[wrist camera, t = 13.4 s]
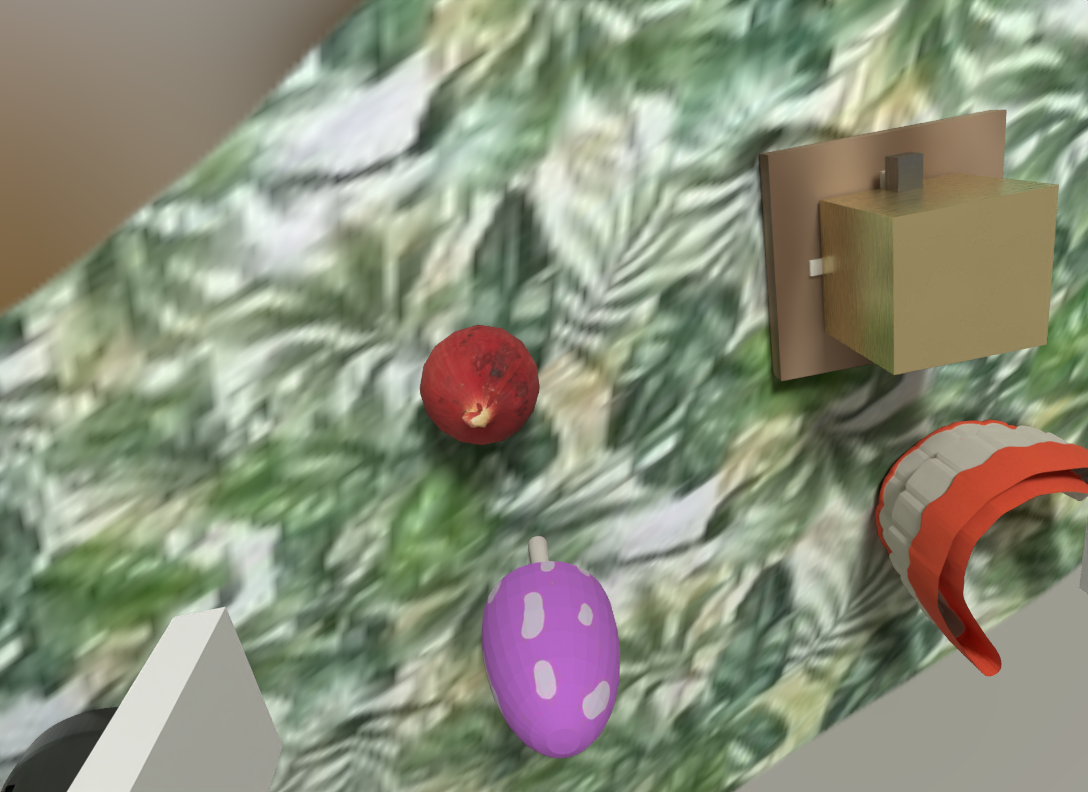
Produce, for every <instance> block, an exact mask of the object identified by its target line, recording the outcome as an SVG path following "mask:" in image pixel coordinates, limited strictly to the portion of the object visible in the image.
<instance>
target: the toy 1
mask: <svg viewBox="0 0 1088 792" xmlns="http://www.w3.org/2000/svg"><path fill="white" fill-rule="evenodd" d="M528 546H529V553H530V559H531V564H529V565H526V566H523V567H520V568H518V569H516V570H515V571H513V572H511V573H509V574H508V575H506V576H505V577H504V578H503V579H502V580H501V581H500V582H499V583H497V584H496V586H495V587H494V589H493V590H492V592H491V593H490V595H489V597H488V599H487V602H486V605H485V608H484V615H483V624H482V649H483V656H484V662H485V668H486V673H487V677H488V681H489V684H490V688H491V691H492V694H493V697H494V700H495V702H496V704H497V705H498V707H499V709H500V711H501V713H502V715H503V717H504V718H505V720H506V722H507V724H508V726H509V727H510V728H511V729H512V730H513V732H514V733H515V734H516V735H517V736H518V737H519V738H520V739H521V740H522V741H523V742H524V743H525V744H526V745H527V746H528V747H530V748H532V749H533V750H535V751H537V752H539V753H541V754H543V755H546V756H549V757H553V758H567V757H571V756H574V755H577V754H579V753H581V752H582V751H584V750H585V749H586V748H587V747H588V746H590V745H591V744H592V743H593V742H594V741H595V740H596V739H597V738H598V737H599V736H600V734H601V732H602V731H603V729H604V727H605V725H606V723H607V721H608V719H609V717H610V715H611V713H612V710H613V706H614V703H615V699H616V694H617V690H618V685H619V669H620V648H619V638H618V630H617V626H616V623H615V619H614V615H613V611H612V608H611V604H610V601H609V599H608V597H607V595H606V592H605V591H604V589H603V588H602V586H601V584H600V583H599V582H598V581H597V580H596V579H595V578H594V577H593V576H592V575H591V574H590V573H589V572H587V571H585V570H583V569H581V568H580V567H578V566H575V565H571V564H568V563H565V562H554V561H549V557H548V548H547V541H546V540H545V539H544V538H543V537H541V536H536V537H533V538H531V539H530V541H529V544H528Z"/></svg>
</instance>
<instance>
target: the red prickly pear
mask: <svg viewBox="0 0 1088 792" xmlns="http://www.w3.org/2000/svg"><path fill="white" fill-rule="evenodd" d="M420 394H421V397H422V400H423V403H424V406H425V409H426V412H427V415H428V416H429V417H430V418H431V419H432V420H433V422H434V423H435V424H436V425H437V426H438V428H439V429H440V430H441V431H443V432H445V433H446V434H448V435H450V436H452V437H453V438H455V439H457V440H459V441H460V442H466V443H472V444H478V445H484V444H489V443H494V442H499V441H503V440H505V439H506V438H508V437H509V436H511V435H513V434H514V433H516V432H517V431H519V430H520V429H521V427H522V426H523V425H524V423H525V422H526V421H527V419H528V418H529V417H530V415H531V414H532V412H533V411H534V407H535V404H536V400H537V397H538V394H539V379H538V372H537V365H536V364H535V362H534V360H533V359H532V357H531V355H530V354H529V352H528V350H527V349H526V347H525V345H524V344H523V342H522V341H520V340H519V339H517V338H516V337H514V336H513V335H511V334H510V333H508V332H507V331H505V330H504V329H502V328H497V327H490V326H483V325H476V326H472V327H469V328H466V329H462V330H459V331H456V332H454V333H452V334H451V335H450V336H448V337H447V338H446V339H444V340H443V341H442V342H440V343H439V344H438V345H436V346H435V347H434V349H433V351H432V352H431V354H430V356H429V357H428V359H427V361H426V363H425V364H424V367H423V372H422V378H421V384H420Z"/></svg>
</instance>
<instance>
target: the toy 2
mask: <svg viewBox="0 0 1088 792" xmlns="http://www.w3.org/2000/svg"><path fill="white" fill-rule="evenodd" d="M1057 492H1062V493H1064V494H1066V495H1068V496H1070V497H1072V498H1074V499H1076V500H1078V501H1082V500H1084V499H1085V498H1086V497H1087V496H1088V450H1086V449H1085V448H1083V447H1081V446H1077V445H1074V444H1069V443H1067V442H1066V441H1064V440H1062V439H1060V438H1059V437H1057V436H1055V435H1054V434H1052V433H1050V432H1047V433H1044V432H1042V431H1041V430H1039V429H1037V428H1034V427H1029V426H1018V427H1015V426H1013V425H1008V424H1006V423H1004V422H1001V421H995V420H985V421H982V422H981V421H961V422H955V423H952V424H950V425H948V426H944V427H941V428H939V429H937V430H936V431H934V432H932V433H931V434H929V435H928V436H926V437H925V438H923V439H922V440H920V441H918V442H917V443H916V444H915V446H913V447H911V448H910V449H909V450H907V451H906V452H905V453H904V454H903V455H902V456H901V457H900V458H899V459H898V460H897V461H896V462H895V464H894V465H893V466H892V467H891V469H890V471H889V473H888V474H887V475H886V477H885V478H884V481H883V484H882V487H881V490H880V495H879V504H878V506H877V507H876V512H875V522H876V525H877V527H878V530H877V533H878V536H879V538H880V540H881V542H882V544H883V545H884V546H885V547H886V548H887V549H888V553H889V554H890V555H889V558H890V561H891V563H892V565H893V567H894V568H895V570H896V571H897V572H898V573H899V574H900V575H901V577H900V578H901V580H902V582H903V584H904V586H905V587H906V589H907V590H908V592H909V593H910V594H911V596H912V597H913V598H914V599H916V600H917V601H916V603H917V604H918V606H919V607H920V609H921V610H922V611H923V613H924V614H925V615H926V616H927V617H928V618H929V619H930V620H931V621H932V622H933V623H934V624H936V625H937V626H938V627H939V629H940V630H941V631H942V632H943V634H944V635H945V636H946V637H947V638H948V640H949V641H950V642H951V643H952V644H953V645H954V646H955V647H956V648H957V649H958V650H959V651H960V652H961V653H962V654H963V655H964V656H965V657H966V658H967V659H968V660H970V662H971V663H973V664H974V665H975V666H976V667H977V668H978V669H979V670H980V671H981V672H982V673H983V674H984V675H986V676H993V675H995V674H997V673H998V672H999V671H1000V669H1001V659H1000V656H999V654H998V652H997V650H996V649H995V647H994V646H993V645H992V643H991V642H990V641H989V639H988V638H987V637H986V635H985V634H984V632H983V631H982V629H981V628H980V626H979V625H978V623H977V622H976V620H975V619H974V617H973V616H972V614H971V612H970V610H969V608H968V606H967V604H966V602H965V600H964V597H963V590H964V576H965V570H966V567H967V563H968V560H969V558H970V555H971V552H972V550H973V548H974V546H975V544H976V542H977V541H978V540H979V539H980V537H981V536H982V535H983V534H984V533H985V532H986V531H987V530H988V529H989V528H990V527H991V526H992V525H993V524H994V523H995V522H996V521H997V519H998V518H999V517H1001V516H1002V515H1003V514H1004V513H1006V512H1008V511H1009V510H1011V509H1013V508H1015V507H1017V506H1019V505H1021V504H1023V503H1024V502H1026V501H1028V500H1030V499H1032V498H1034V497H1036V496H1039V495H1043V494H1049V493H1057Z"/></svg>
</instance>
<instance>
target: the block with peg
mask: <svg viewBox="0 0 1088 792" xmlns="http://www.w3.org/2000/svg"><path fill="white" fill-rule="evenodd" d="M1058 187H1059V185H1056V184H1048V183H1039V182H1030V181H1022V180H1013V179H1005V178H996V177H988V176H979V175H970V174H962V173H952V174H947V175H942V176H937V177H932V178H927V179H923V153H918V152H905V153H900V154H895V155H890V156H885V187H882V188H877V189H872V190H867V191H862V192H857V193H852V194H847V195H842V196H837V197H832V198H827V199H822V200H819V201H820V225H821V249H822V272H823V296H824V320H825V332H826V333H827V334H829V335H830V336H832V337H834V338H835V339H837V340H838V341H840V342H842V343H843V344H845V345H846V346H848V347H850V348H851V349H853V350H854V351H856V352H858V353H859V354H861V355H863V356H864V357H866V358H867V359H869V360H871V361H872V362H874V363H875V364H877V365H879V366H880V367H882V368H883V369H885V370H887V371H888V372H890V373H891V374H893V375H897V374H902V373H907V372H912V371H917V370H922V369H927V368H932V367H937V366H942V365H947V364H952V363H957V362H962V361H966V360H971V359H976V358H981V357H986V356H991V355H996V354H1001V353H1006V352H1011V351H1016V350H1021V349H1026V348H1031V347H1036V346H1041V345H1046V344H1047V333H1048V320H1049V307H1050V294H1051V280H1052V267H1053V254H1054V241H1055V227H1056V214H1057V201H1058Z"/></svg>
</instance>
